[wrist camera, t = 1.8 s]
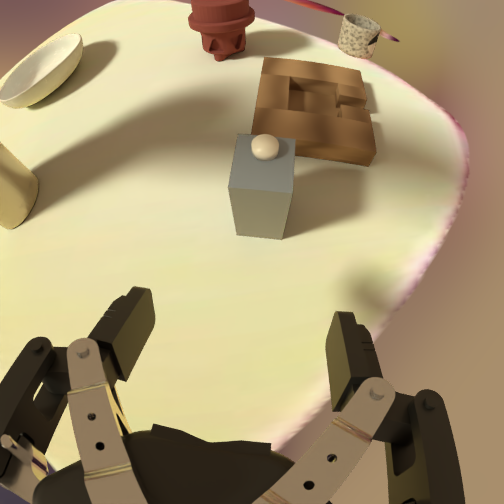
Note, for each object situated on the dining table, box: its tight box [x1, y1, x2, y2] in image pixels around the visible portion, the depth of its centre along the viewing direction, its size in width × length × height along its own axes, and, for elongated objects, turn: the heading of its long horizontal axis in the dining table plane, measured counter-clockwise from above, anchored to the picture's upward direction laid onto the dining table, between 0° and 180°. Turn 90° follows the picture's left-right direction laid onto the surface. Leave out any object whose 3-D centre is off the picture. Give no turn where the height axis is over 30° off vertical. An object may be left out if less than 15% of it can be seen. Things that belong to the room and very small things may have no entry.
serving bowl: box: [0, 33, 83, 109], centre depth 37 cm, size 21×21×7 cm
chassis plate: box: [251, 57, 376, 167], centre depth 32 cm, size 14×16×3 cm
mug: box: [338, 14, 381, 59], centre depth 37 cm, size 10×7×7 cm, turn 162°
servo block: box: [228, 134, 295, 240], centre depth 24 cm, size 4×5×10 cm
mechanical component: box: [188, 0, 255, 61], centre depth 33 cm, size 12×10×10 cm
